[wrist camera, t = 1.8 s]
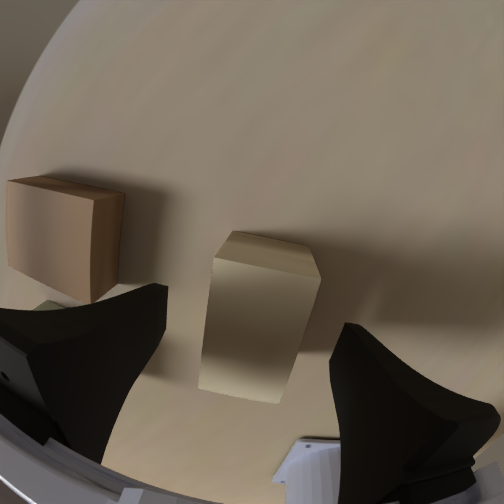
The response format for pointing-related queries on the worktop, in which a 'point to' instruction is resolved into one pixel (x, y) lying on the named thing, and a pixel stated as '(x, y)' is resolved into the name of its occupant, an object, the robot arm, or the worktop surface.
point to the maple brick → (256, 316)
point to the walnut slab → (64, 235)
